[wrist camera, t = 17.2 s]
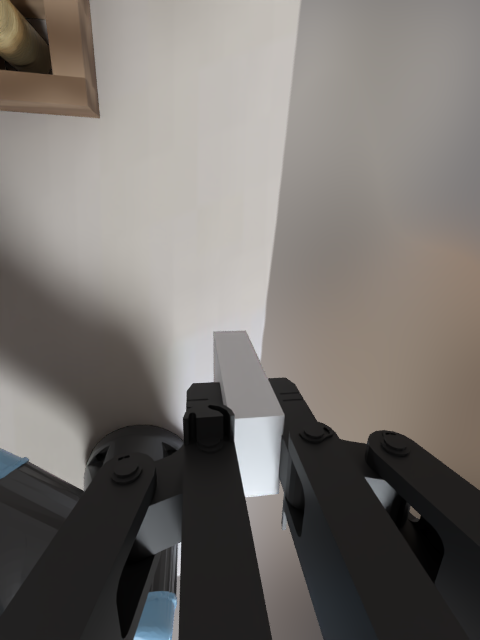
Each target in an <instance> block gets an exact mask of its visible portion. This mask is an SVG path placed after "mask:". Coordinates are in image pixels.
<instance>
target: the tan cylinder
mask: <svg viewBox="0 0 480 640" xmlns="http://www.w3.org/2000/svg"><path fill="white" fill-rule="evenodd" d="M0 56H1V57H2V58H3V59H4V60H6V61H7V62H8V63H9V64H11V65H12V66H13V67H14V68H16V69H17V70H18V71H19V72H29V73H39V74H47V73H48V72H49V71H50V69H51V65H52V64H51V56H50V49H49V47H48V45H47V43H46V42H45V41H44V39H43V38H42V37H41V36H40V35H39V34H38V33H37V31H36V30H35V29H34V28H33V27H32V26H31V25H30V23H29V22H28V21H27V20H26V19H25V18H24V17H23V15H22V14H21V13H20V12H19V11H18V10H17V9H16V7H15V6H14V5H13V4H12V3H11V2H10V1H9V0H0Z"/></svg>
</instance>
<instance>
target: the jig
mask: <svg viewBox="0 0 480 640" xmlns="http://www.w3.org/2000/svg"><path fill="white" fill-rule="evenodd" d="M9 1H10V2H11V3H12V4H13V5H14V6H15V7H16V9H17V10H18V11H19V12H20V13H21V14H22V15H23V17H28V18H37V19H46V25H47V32H48V40H49V48H50V56H51V64H52V72H53V75H50V74H39V73H29V72H18V71H7V70H6V68H5V62H4V59H3V58H2V57H1V56H0V111H13V112H26V113H39V114H52V115H65V116H79V117H92V118H100V114H99V103H98V92H97V81H96V70H95V59H94V48H93V37H92V26H91V15H90V4H89V0H9Z"/></svg>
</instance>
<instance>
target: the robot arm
mask: <svg viewBox="0 0 480 640" xmlns="http://www.w3.org/2000/svg"><path fill="white" fill-rule="evenodd" d="M213 336H214V382H211V383H193V384H192V385H191V386H190V388H189V389H188V390H187V403H186V412H185V415H184V417H183V431H184V442H183V441H182V440H181V439H180V438H179V437H178V436H176V435H175V434H173V433H172V432H170V431H168V430H165V429H163V428H159V427H155V426H147V425H137V426H130V427H125V428H122V429H119V430H117V431H114V432H112V433H110V434H109V435H107V436H106V437H104V438H103V439H102V440H101V441H100V442H99V443H98V444H97V445H96V446H95V448H94V449H93V451H92V453H91V455H90V458H89V460H88V463H87V465H86V468H85V473H84V491H83V490H81V489H79V488H77V487H75V486H73V485H71V484H70V483H68V482H66V481H64V480H62V479H60V478H58V477H56V476H55V475H53V474H51V473H49V472H47V471H45V470H43V469H41V468H40V467H38V466H36V465H34V464H32V463H30V462H28V461H29V459H28V458H26V457H24V458H21V457H18V456H16V455H14V454H12V453H10V452H8V451H5V450H3V449H1V448H0V640H172V631H173V621H174V611H175V608H176V605H177V597H176V587H177V586H176V585H177V555H178V543H180V542H181V574H180V610H179V612H180V613H179V640H272V636H271V631H270V626H269V621H268V615H267V611H266V605H265V600H264V594H263V589H262V584H261V579H260V574H259V568H258V563H257V558H256V553H255V548H254V542H253V537H252V531H251V526H250V521H249V516H248V511H247V506H246V500H245V497H252V496H261V495H271V494H278V493H279V483H280V481H281V484H282V487H283V491H284V500H283V511H282V530H286V523H287V521H288V525H289V528H290V532H291V535H292V538H293V541H294V545H295V548H296V551H297V554H298V558H299V561H300V564H301V567H302V571H303V574H304V577H305V580H306V584H307V587H308V590H309V593H310V597H311V600H312V603H313V606H314V610H315V613H316V616H317V620H318V622H319V626H320V629H321V632H322V636H323V639H324V640H480V490H478V489H477V488H476V487H474V486H473V485H471V484H470V483H469V482H468V481H466V480H465V479H463V478H462V477H460V475H458V474H457V473H456V472H454V471H453V470H451V469H450V468H449V467H447V466H446V465H445V464H443V463H442V462H441V461H439V460H438V459H437V458H435V457H434V456H433V455H431V454H430V453H429V452H427V451H426V450H425V449H423V448H422V447H421V446H419V445H418V444H417V443H415V442H414V441H413V440H411V439H409V438H407V437H406V436H404V435H402V434H399V433H396V432H393V431H385V430H382V431H375V432H373V433H372V434H370V436H369V438H368V441H367V444H365V443H357V442H351V441H346V440H341V439H339V437H338V436H337V434H336V433H335V432H334V431H333V430H332V429H331V428H330V427H329V426H327V425H325V424H323V423H320V422H317V420H316V419H315V417H314V415H313V414H312V412H311V410H310V409H309V407H308V405H307V404H306V402H305V401H304V399H303V397H302V395H301V394H300V392H299V390H298V389H297V387H296V385H295V384H294V383H292V382H291V381H290V380H288V379H287V378H267V376H266V374H265V371H264V369H263V367H262V365H261V363H260V360H259V358H258V356H257V354H256V352H255V350H254V347H253V345H252V343H251V341H250V339H249V337H248V334H247V332H246V331H218V332H213ZM410 506H412V507H413V508H414V509H415V510H416V511H417V512H418V513H419V514H420V515H421V517H420V519H418V518H416V517H414V516H413V515H412V514H411V513H410V512H409V510H410Z"/></svg>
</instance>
